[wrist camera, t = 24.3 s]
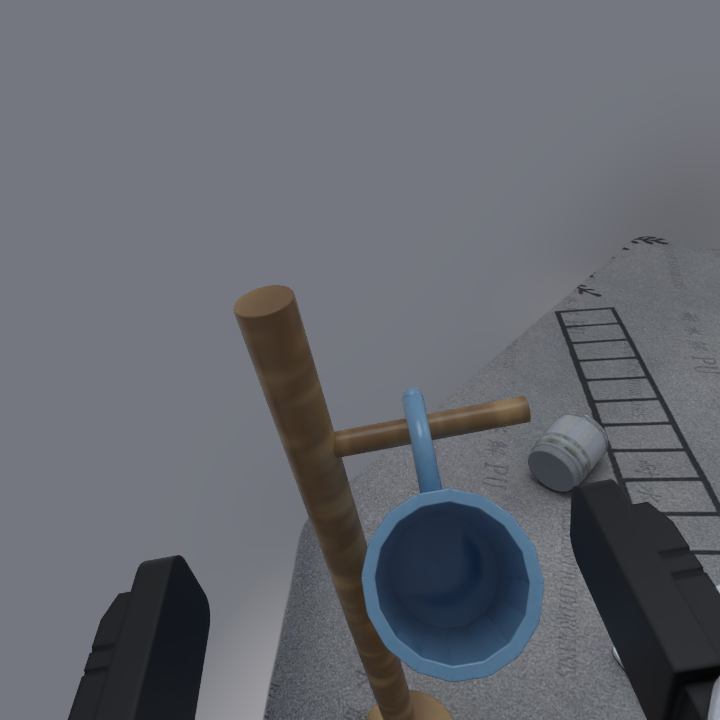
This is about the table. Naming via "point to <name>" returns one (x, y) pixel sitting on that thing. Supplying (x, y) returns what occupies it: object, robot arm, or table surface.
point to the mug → (450, 574)
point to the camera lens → (568, 451)
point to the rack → (343, 474)
